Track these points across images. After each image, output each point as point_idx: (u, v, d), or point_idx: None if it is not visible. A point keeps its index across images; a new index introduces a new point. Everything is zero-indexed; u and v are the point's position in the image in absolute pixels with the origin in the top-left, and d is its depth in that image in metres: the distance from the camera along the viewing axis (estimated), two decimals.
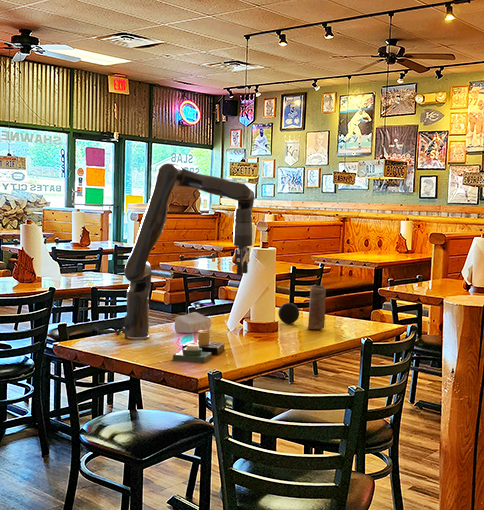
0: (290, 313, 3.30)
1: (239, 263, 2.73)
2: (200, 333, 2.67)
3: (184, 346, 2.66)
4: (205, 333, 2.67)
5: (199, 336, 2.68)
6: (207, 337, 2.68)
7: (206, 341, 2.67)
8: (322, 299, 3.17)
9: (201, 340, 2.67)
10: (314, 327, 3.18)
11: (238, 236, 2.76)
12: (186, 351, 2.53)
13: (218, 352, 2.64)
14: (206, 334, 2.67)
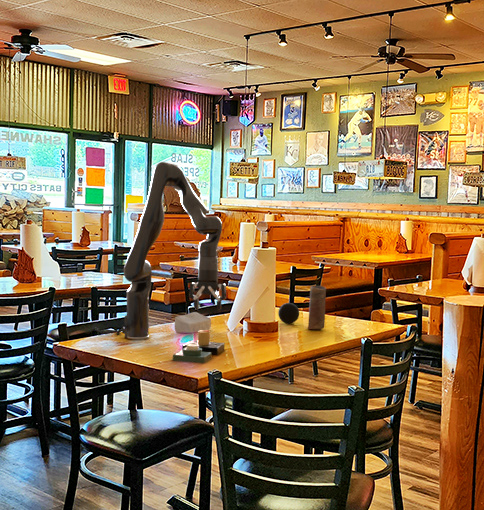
0: (290, 313, 3.30)
1: None
2: (200, 333, 2.67)
3: (184, 346, 2.66)
4: (205, 333, 2.67)
5: (199, 336, 2.68)
6: (207, 337, 2.68)
7: (206, 341, 2.67)
8: (322, 299, 3.17)
9: (201, 340, 2.67)
10: (314, 327, 3.18)
11: None
12: (186, 351, 2.53)
13: (218, 352, 2.64)
14: (206, 334, 2.67)
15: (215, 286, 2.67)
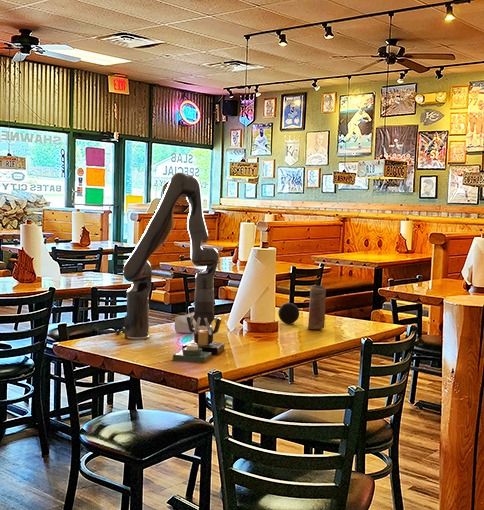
0: (290, 313, 3.30)
1: None
2: (200, 333, 2.67)
3: (184, 346, 2.66)
4: (205, 333, 2.67)
5: (199, 336, 2.68)
6: (207, 337, 2.68)
7: (206, 341, 2.67)
8: (322, 299, 3.17)
9: (201, 340, 2.67)
10: (314, 327, 3.18)
11: None
12: (186, 351, 2.53)
13: (218, 352, 2.64)
14: (206, 334, 2.67)
15: (211, 318, 2.67)
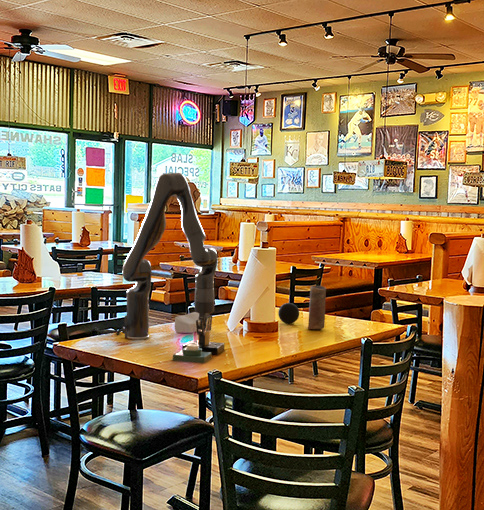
0: (290, 313, 3.30)
1: (201, 333, 2.64)
2: (208, 333, 2.68)
3: (184, 346, 2.66)
4: None
5: (207, 336, 2.68)
6: None
7: None
8: (322, 299, 3.17)
9: None
10: (314, 327, 3.18)
11: (199, 303, 2.65)
12: (186, 351, 2.53)
13: (218, 352, 2.64)
14: None
15: (209, 316, 2.71)
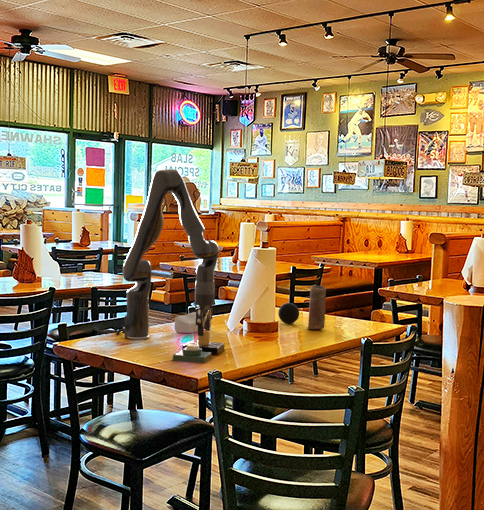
0: (290, 313, 3.30)
1: (200, 324, 2.62)
2: (208, 333, 2.68)
3: (184, 346, 2.66)
4: None
5: (207, 336, 2.68)
6: None
7: None
8: (322, 299, 3.17)
9: None
10: (314, 327, 3.18)
11: (199, 295, 2.65)
12: (186, 351, 2.53)
13: (218, 352, 2.64)
14: None
15: (209, 308, 2.72)
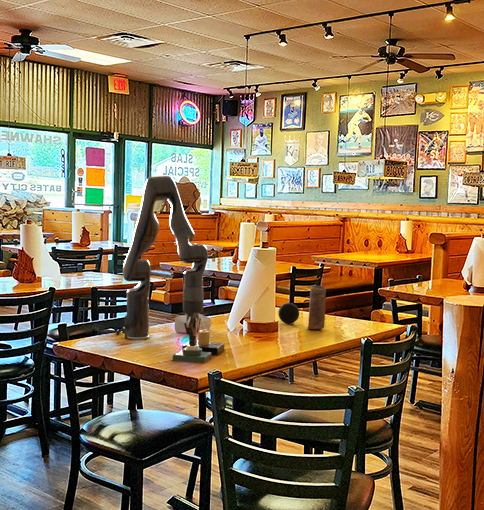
0: (290, 313, 3.30)
1: (191, 333, 2.52)
2: (208, 333, 2.68)
3: (184, 346, 2.66)
4: None
5: (207, 336, 2.68)
6: None
7: None
8: (322, 299, 3.17)
9: None
10: (314, 327, 3.18)
11: (187, 302, 2.51)
12: (186, 351, 2.53)
13: (218, 352, 2.64)
14: None
15: (198, 315, 2.58)
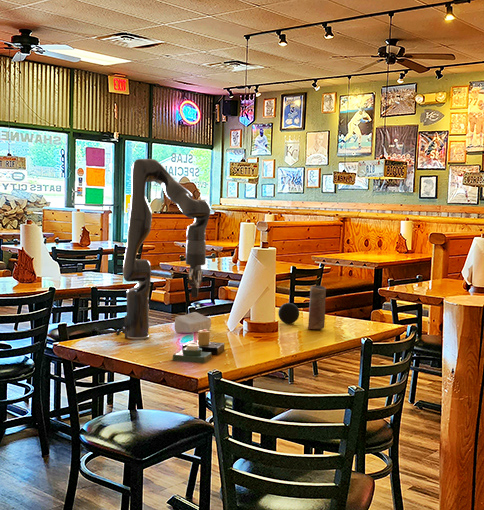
0: (290, 313, 3.30)
1: (193, 285, 2.64)
2: (208, 333, 2.68)
3: (184, 346, 2.66)
4: None
5: (207, 336, 2.68)
6: None
7: None
8: (322, 299, 3.17)
9: None
10: (314, 327, 3.18)
11: (190, 255, 2.63)
12: (186, 351, 2.53)
13: (218, 352, 2.64)
14: None
15: (200, 269, 2.70)
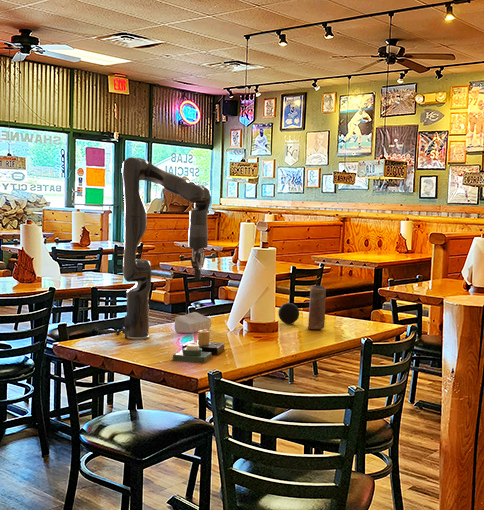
0: (290, 313, 3.30)
1: (196, 267, 2.75)
2: (208, 333, 2.68)
3: (184, 346, 2.66)
4: None
5: (207, 336, 2.68)
6: None
7: None
8: (322, 299, 3.17)
9: None
10: (314, 327, 3.18)
11: (193, 238, 2.74)
12: (186, 351, 2.53)
13: (218, 352, 2.64)
14: None
15: (203, 252, 2.81)
